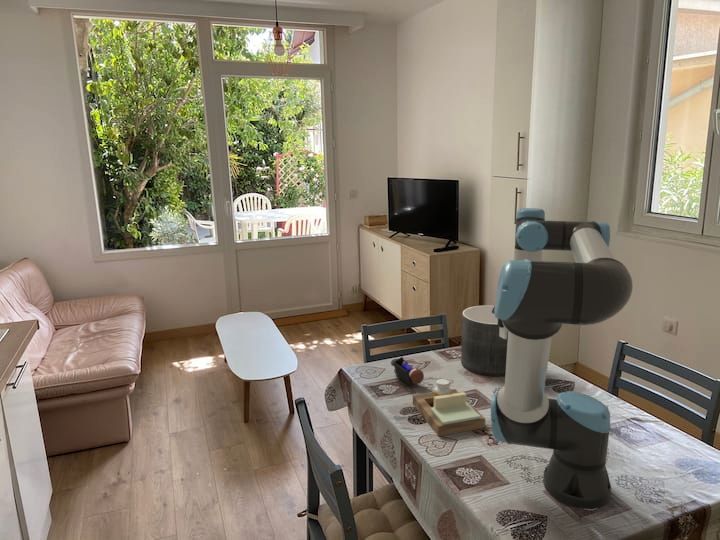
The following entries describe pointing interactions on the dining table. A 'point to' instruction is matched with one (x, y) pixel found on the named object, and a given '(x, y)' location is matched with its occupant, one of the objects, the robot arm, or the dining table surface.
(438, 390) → the supplement bottle
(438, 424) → the board
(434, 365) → the dining table surface
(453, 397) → the cover
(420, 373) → the character figurine
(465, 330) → the planter
